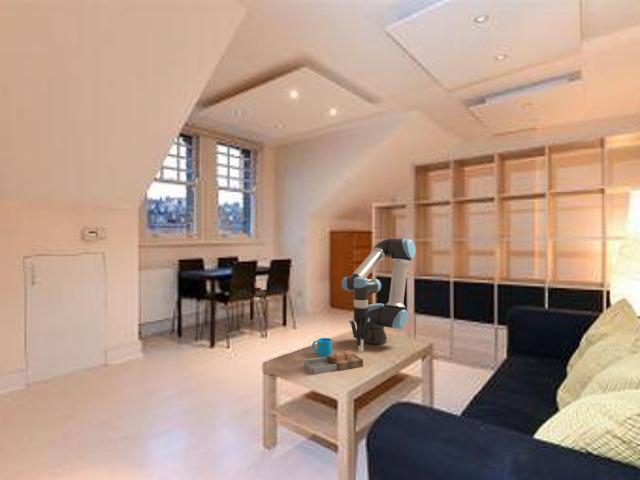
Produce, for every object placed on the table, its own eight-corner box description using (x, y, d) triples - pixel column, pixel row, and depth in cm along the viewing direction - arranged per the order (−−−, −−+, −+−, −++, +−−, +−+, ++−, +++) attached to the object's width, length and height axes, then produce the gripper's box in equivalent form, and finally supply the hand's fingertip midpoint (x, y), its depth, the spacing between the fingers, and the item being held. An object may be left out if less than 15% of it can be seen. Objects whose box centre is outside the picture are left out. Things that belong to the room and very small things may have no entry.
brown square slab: (349, 357, 215) (349, 351, 215) (363, 366, 202) (362, 359, 202) (326, 361, 210) (326, 355, 209) (338, 370, 197) (338, 363, 197)
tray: (326, 362, 209) (326, 356, 208) (337, 370, 198) (337, 364, 197) (304, 366, 203) (304, 360, 203) (313, 374, 192) (313, 368, 192)
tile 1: (341, 356, 208) (341, 351, 208) (345, 359, 204) (345, 354, 203) (333, 357, 206) (333, 352, 206) (337, 360, 202) (337, 355, 202)
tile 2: (350, 354, 210) (350, 350, 210) (354, 357, 206) (354, 352, 206) (342, 356, 208) (342, 351, 208) (346, 358, 204) (346, 353, 204)
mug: (334, 353, 224) (334, 338, 223) (328, 357, 216) (328, 342, 216) (315, 350, 229) (315, 336, 229) (308, 354, 222) (308, 340, 221)
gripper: (367, 304, 215) (367, 347, 216) (346, 306, 210) (346, 350, 210) (375, 307, 208) (375, 351, 209) (353, 309, 203) (353, 354, 204)
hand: (360, 351), depth 210 cm, fingers closed
